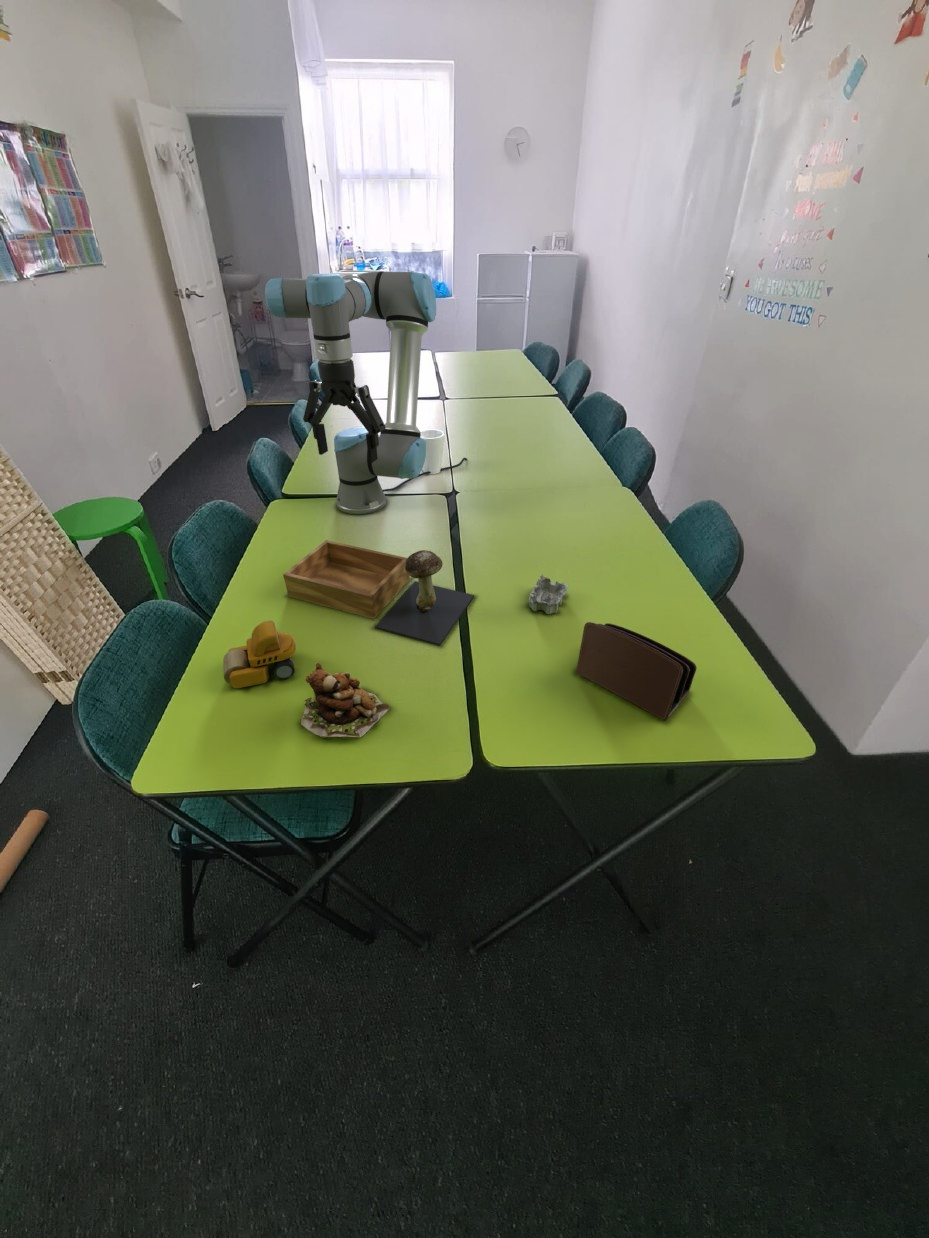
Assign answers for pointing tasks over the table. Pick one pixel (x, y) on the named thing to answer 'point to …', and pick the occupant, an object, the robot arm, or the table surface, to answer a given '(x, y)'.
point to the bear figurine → (340, 706)
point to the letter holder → (635, 668)
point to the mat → (425, 615)
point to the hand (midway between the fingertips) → (348, 456)
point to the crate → (347, 578)
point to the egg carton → (547, 595)
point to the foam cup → (433, 450)
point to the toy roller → (260, 657)
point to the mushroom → (424, 576)
